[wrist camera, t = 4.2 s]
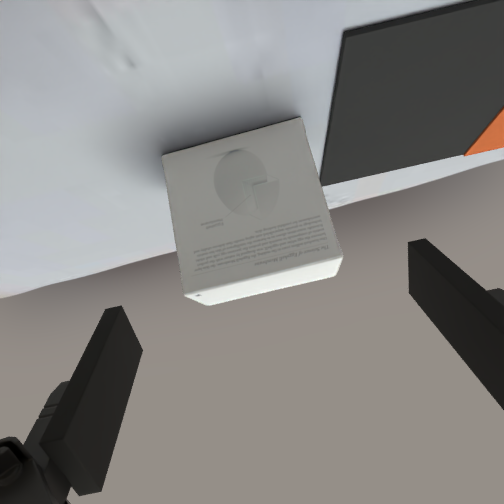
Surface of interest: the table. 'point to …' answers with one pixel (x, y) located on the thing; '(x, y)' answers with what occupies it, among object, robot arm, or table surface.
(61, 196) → the table surface
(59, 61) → the table surface
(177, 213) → the cosmetics box
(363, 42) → the corner mat
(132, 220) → the table surface
